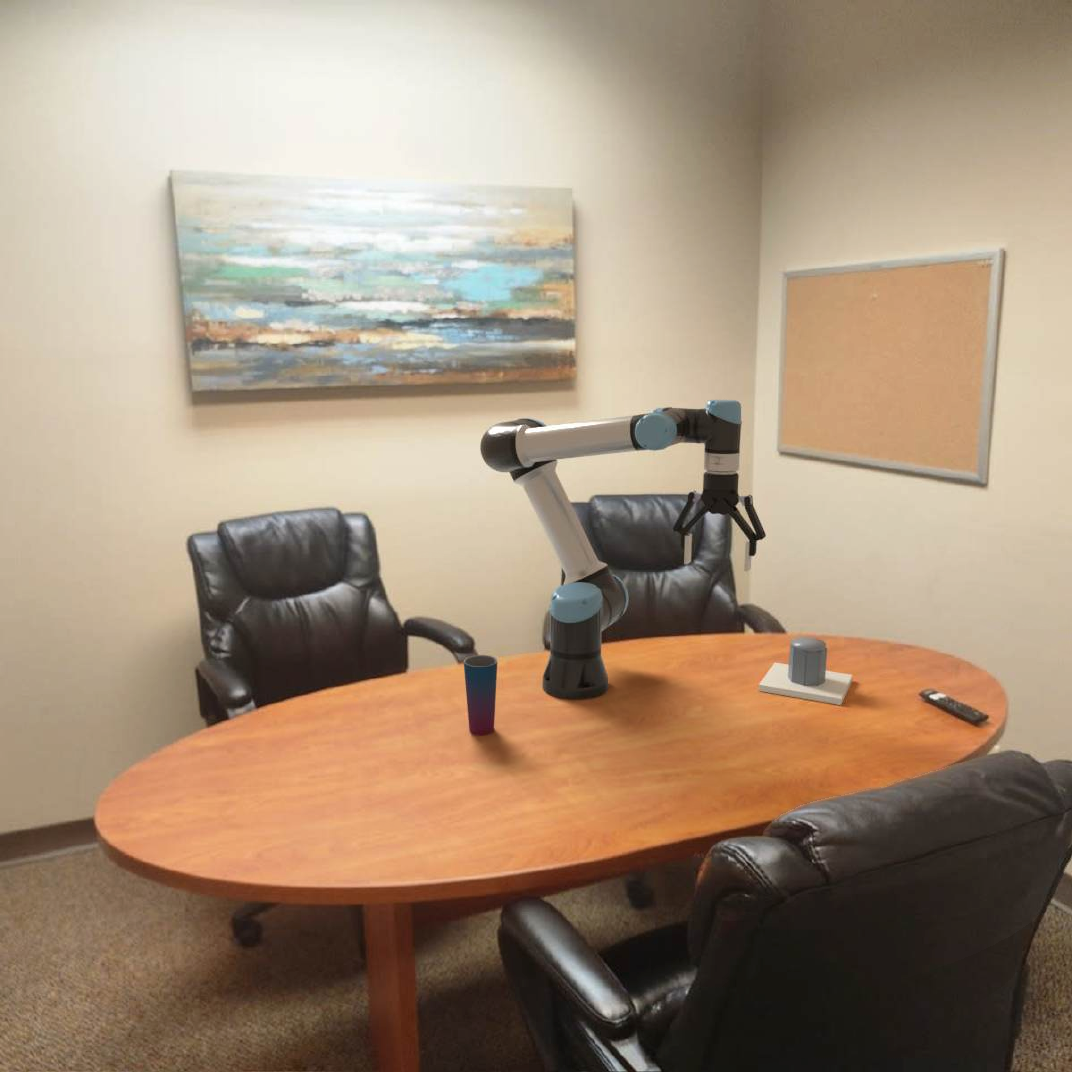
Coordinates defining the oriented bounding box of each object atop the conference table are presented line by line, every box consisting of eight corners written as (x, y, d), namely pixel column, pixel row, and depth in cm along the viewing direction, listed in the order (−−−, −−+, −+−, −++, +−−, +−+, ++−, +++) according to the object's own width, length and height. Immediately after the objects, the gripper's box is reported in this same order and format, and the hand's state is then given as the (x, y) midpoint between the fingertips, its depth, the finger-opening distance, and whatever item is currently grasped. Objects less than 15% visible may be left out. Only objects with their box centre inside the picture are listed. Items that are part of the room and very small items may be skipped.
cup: (458, 733, 179) (457, 663, 176) (476, 720, 185) (475, 652, 182) (487, 739, 176) (486, 668, 173) (504, 727, 182) (503, 658, 179)
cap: (828, 685, 200) (830, 648, 198) (794, 685, 200) (796, 648, 198) (817, 673, 207) (820, 637, 205) (785, 673, 207) (787, 637, 205)
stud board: (758, 690, 201) (760, 659, 199) (774, 668, 215) (776, 639, 213) (841, 705, 193) (843, 672, 191) (852, 680, 207) (854, 650, 205)
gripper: (660, 470, 195) (658, 563, 199) (775, 477, 183) (769, 576, 188) (671, 466, 201) (669, 556, 206) (783, 473, 190) (777, 568, 194)
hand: (717, 566), depth 197 cm, fingers open, 13 cm apart
